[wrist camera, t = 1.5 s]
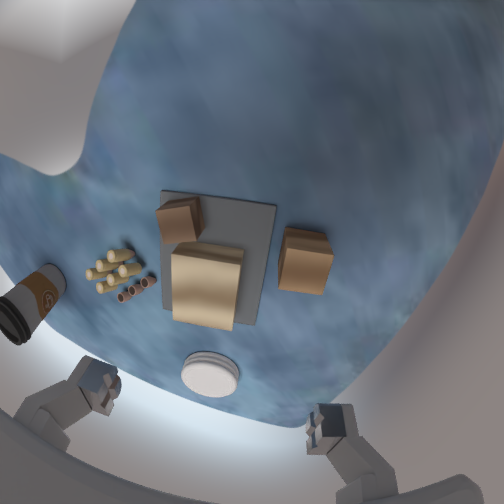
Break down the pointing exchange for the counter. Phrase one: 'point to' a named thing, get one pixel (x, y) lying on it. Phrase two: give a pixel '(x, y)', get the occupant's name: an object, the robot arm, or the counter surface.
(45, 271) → the coffee cup
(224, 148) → the counter surface
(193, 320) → the base block
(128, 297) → the ammunition
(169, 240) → the block
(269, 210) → the mat
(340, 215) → the counter surface
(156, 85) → the counter surface
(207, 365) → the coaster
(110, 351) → the counter surface
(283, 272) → the oak block
